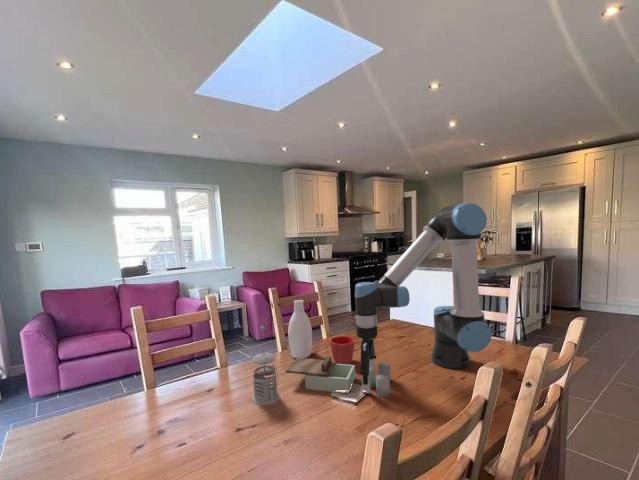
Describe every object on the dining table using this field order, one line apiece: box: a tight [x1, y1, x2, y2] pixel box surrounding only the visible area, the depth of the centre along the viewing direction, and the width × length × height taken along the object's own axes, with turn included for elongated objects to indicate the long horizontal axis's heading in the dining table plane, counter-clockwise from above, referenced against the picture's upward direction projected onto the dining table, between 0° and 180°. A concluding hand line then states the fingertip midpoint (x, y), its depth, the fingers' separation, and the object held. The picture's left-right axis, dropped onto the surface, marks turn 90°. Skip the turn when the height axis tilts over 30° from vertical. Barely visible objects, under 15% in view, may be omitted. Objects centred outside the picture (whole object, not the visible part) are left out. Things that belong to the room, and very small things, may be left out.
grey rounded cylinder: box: [375, 374, 391, 398], centre depth 108 cm, size 5×5×6 cm
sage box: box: [304, 364, 356, 393], centre depth 117 cm, size 16×12×5 cm
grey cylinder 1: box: [369, 367, 376, 389], centre depth 115 cm, size 5×5×6 cm
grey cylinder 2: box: [377, 362, 392, 383], centre depth 118 cm, size 5×5×6 cm
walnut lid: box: [285, 355, 336, 377], centre depth 119 cm, size 16×12×3 cm
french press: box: [251, 325, 281, 406], centre depth 108 cm, size 10×12×25 cm
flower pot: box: [329, 335, 356, 365], centre depth 136 cm, size 11×11×10 cm
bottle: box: [287, 299, 313, 359], centre depth 146 cm, size 11×11×25 cm
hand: (369, 383), depth 115 cm, fingers open, 12 cm apart
